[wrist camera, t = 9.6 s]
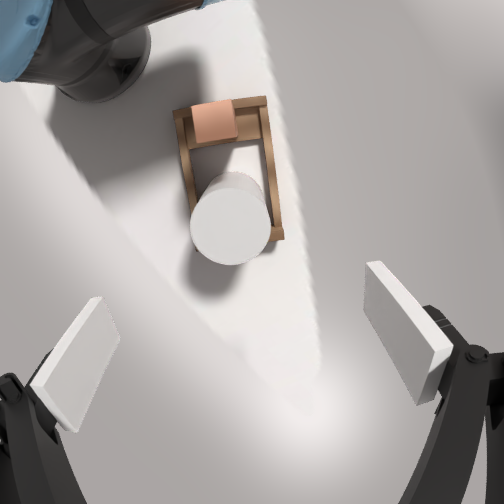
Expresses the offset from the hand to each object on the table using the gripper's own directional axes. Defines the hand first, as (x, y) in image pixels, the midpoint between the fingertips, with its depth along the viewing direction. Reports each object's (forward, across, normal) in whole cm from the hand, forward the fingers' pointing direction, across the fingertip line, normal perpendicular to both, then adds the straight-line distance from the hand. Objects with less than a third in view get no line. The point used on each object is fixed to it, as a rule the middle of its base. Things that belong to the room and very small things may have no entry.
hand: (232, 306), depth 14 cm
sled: (+29, -1, +3) cm, 29 cm away
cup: (+29, -1, -1) cm, 29 cm away
